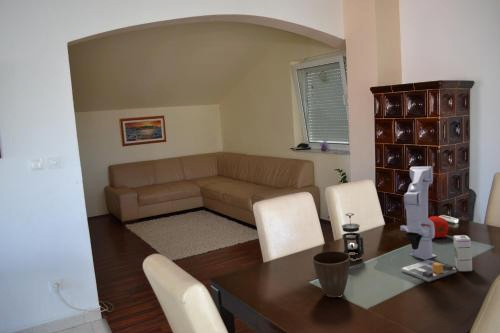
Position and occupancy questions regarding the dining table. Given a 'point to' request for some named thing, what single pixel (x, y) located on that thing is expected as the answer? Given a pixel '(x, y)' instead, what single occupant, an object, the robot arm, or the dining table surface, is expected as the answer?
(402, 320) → the dining table surface
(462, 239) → the white segmented block tower
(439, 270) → the yellow rounded piece
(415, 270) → the breaker panel
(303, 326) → the dining table surface
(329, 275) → the plant pot
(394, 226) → the dining table surface
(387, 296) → the dining table surface
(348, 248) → the french press
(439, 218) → the tomato
